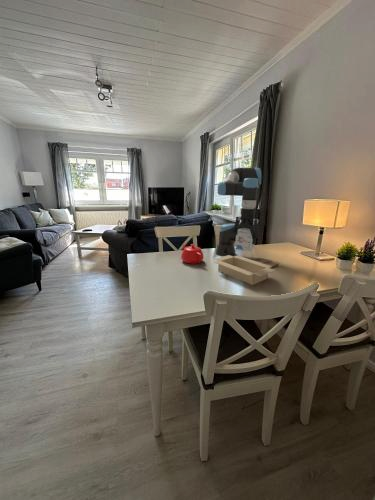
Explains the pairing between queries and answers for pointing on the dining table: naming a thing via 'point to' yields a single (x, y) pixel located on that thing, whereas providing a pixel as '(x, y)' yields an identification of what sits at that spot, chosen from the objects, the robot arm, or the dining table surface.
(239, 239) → the ink box
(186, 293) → the dining table surface
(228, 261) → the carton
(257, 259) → the board
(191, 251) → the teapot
